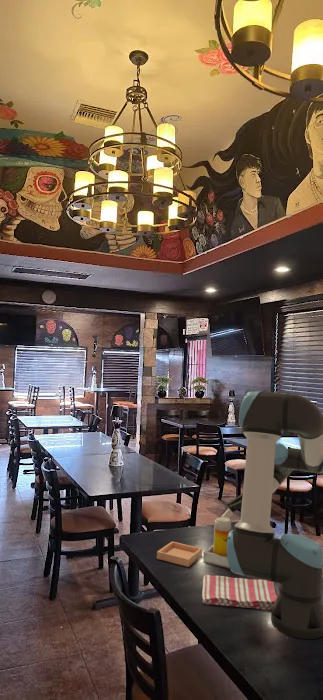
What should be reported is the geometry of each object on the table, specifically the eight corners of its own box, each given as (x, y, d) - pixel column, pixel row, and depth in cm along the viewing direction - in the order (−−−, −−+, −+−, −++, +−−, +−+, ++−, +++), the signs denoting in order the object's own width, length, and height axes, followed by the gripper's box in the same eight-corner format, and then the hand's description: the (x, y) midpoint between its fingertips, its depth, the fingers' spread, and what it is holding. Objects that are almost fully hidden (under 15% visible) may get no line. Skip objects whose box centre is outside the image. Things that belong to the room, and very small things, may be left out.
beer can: (230, 564, 174) (232, 522, 174) (213, 563, 174) (215, 521, 174) (228, 557, 180) (230, 517, 180) (212, 556, 180) (214, 516, 180)
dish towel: (281, 613, 141) (281, 601, 141) (202, 605, 143) (202, 594, 143) (272, 587, 158) (273, 576, 158) (201, 580, 160) (202, 570, 160)
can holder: (229, 568, 170) (229, 558, 170) (203, 561, 174) (203, 552, 175) (238, 559, 179) (238, 549, 179) (213, 552, 183) (213, 543, 183)
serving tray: (188, 566, 169) (188, 559, 169) (156, 558, 175) (157, 551, 175) (201, 555, 180) (202, 548, 180) (171, 547, 186) (172, 541, 186)
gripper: (290, 503, 174) (252, 548, 168) (252, 485, 197) (218, 525, 191) (278, 489, 172) (240, 534, 166) (242, 473, 196) (207, 512, 190)
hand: (228, 529), depth 179 cm, fingers open, 13 cm apart
